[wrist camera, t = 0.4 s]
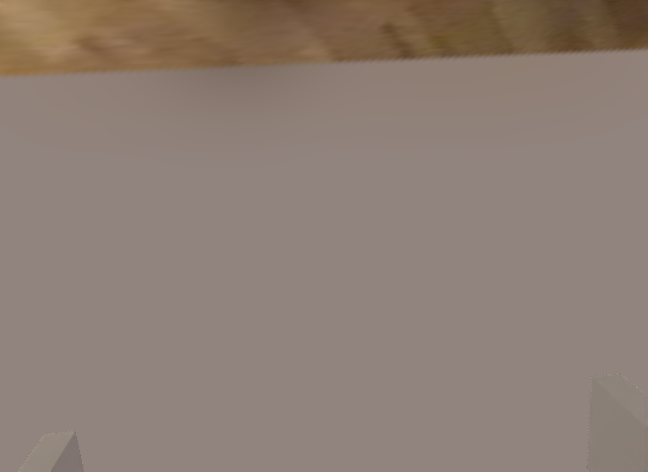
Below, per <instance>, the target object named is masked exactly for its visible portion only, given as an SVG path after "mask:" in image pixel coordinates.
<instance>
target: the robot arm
mask: <svg viewBox="0 0 648 472" xmlns="http://www.w3.org/2000/svg"><path fill="white" fill-rule="evenodd" d="M587 469H588V470H589V471H590V472H648V396H647V395H645V393H643V392H642V391H641V390H640V389H638V388H637V387H636V386H635V385H633V384H632V383H631V382H630V381H629V380H628V379H626V378H625V377H624V376H623V375H622V374H620V373H619V374H610V375H600V376H592V378H591V397H590V417H589V439H588V459H587ZM18 472H84V469H83V465H82V460H81V455H80V450H79V446H78V442H77V437H76V432H75V431H74V432H65V433H55V434H46V435H43V437H42V438H41V440H40V441H39V443H38V444H37V445H36V447H35V448H34V449H33V451H32V452H31V454H30V455H29V456H28V458H27V459H26V461H25V462H24V463H23V465H22V466H21V467H20V469H19V470H18Z"/></svg>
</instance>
